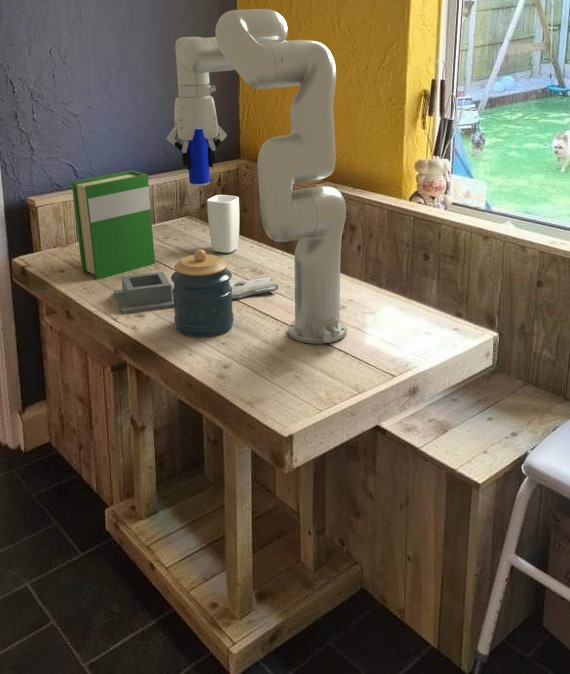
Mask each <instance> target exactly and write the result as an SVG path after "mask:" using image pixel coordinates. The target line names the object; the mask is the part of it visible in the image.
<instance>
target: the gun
mask: <svg viewBox="0 0 570 674" xmlns="http://www.w3.org/2000/svg"><path fill="white" fill-rule="evenodd" d="M272 279H273V278H272V277H269V276H266V277H261V278H256V279H250V280H245V279H239V280H238V279H237V280H236V279H235V280H234V279H232V278H231V279H230V280H229V282H230V286H231V287H232V300H236V299H235V298H237V299H241V298H242V297H243V298H246V297H249V296H254V295H260V294H265V293H270V292H275V291H277V290H279V285H278V284H276V283H275V282H273V280H272ZM243 298H242V299H243Z"/></svg>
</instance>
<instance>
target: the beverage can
mask: <svg viewBox="0 0 570 674" xmlns="http://www.w3.org/2000/svg"><path fill="white" fill-rule="evenodd" d="M187 150H188V153H189V160H190V169H188V177H189V178H188V180H189V181H188V182H189V184H190V185H191V186H193V187H203V186H204V187H205V186H206V187H207V186H208V185H209V184H210V182H211V171H210V166H209V153H208V140H207V139H205V136H204V133H203V129H202V128H200V127H198V128H196V129H195V131H194V136H193V140H191V141H189V144H188V148H187Z"/></svg>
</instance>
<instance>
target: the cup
mask: <svg viewBox="0 0 570 674" xmlns="http://www.w3.org/2000/svg"><path fill="white" fill-rule="evenodd" d="M206 204H207V205H206V207H207V208H206V209H207V220H208V230H209V236H210V241H211V242H210V243H211V248H212V251H213V252H215V253H219V252H220V253H221V254H231V253H232V252H235V251H236V250H237V249H238V247H239V237H240V198H239V196H236V195H228V194H216V195H214V196H212V197H210V198H208V199H206ZM220 253H219V254H220Z"/></svg>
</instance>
